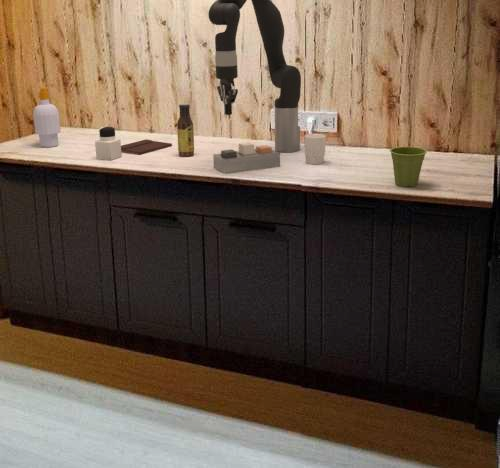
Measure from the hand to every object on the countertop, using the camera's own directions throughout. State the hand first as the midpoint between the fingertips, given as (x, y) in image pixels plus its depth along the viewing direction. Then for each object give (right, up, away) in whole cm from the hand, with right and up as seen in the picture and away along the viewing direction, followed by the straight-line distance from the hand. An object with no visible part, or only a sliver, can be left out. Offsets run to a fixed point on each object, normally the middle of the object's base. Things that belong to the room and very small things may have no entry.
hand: (228, 114), depth 257 cm
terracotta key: (+13, -14, +11) cm, 22 cm away
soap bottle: (-77, -5, +53) cm, 94 cm away
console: (+7, -18, +9) cm, 21 cm away
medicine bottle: (-47, -12, +28) cm, 57 cm away
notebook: (-36, -7, +44) cm, 58 cm away
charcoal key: (0, -16, +5) cm, 17 cm away
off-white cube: (+6, -13, +8) cm, 16 cm away
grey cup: (+32, -16, +14) cm, 38 cm away
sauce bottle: (-17, -11, +30) cm, 37 cm away
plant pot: (+59, -26, -18) cm, 67 cm away
